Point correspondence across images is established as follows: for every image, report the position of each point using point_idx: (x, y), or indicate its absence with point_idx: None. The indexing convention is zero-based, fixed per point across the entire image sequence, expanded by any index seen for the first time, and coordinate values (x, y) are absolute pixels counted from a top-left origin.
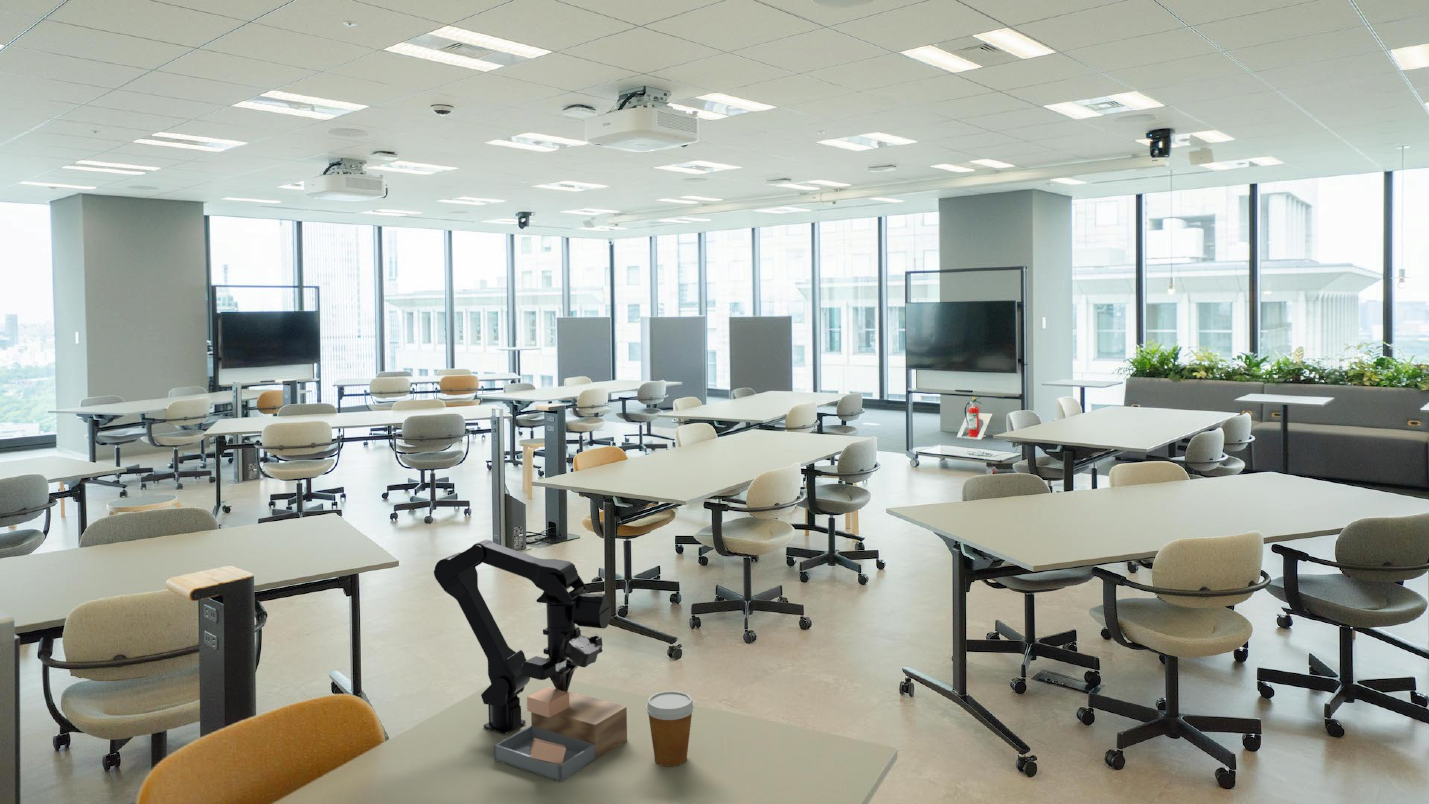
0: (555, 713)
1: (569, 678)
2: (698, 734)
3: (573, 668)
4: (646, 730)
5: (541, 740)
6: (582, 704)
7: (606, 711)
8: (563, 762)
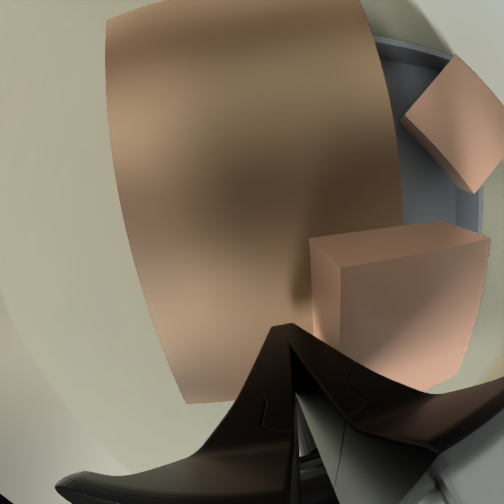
0: (411, 225)
1: (270, 398)
2: (45, 13)
3: (288, 473)
4: (75, 90)
5: (476, 156)
6: (232, 205)
7: (209, 30)
8: (395, 108)
